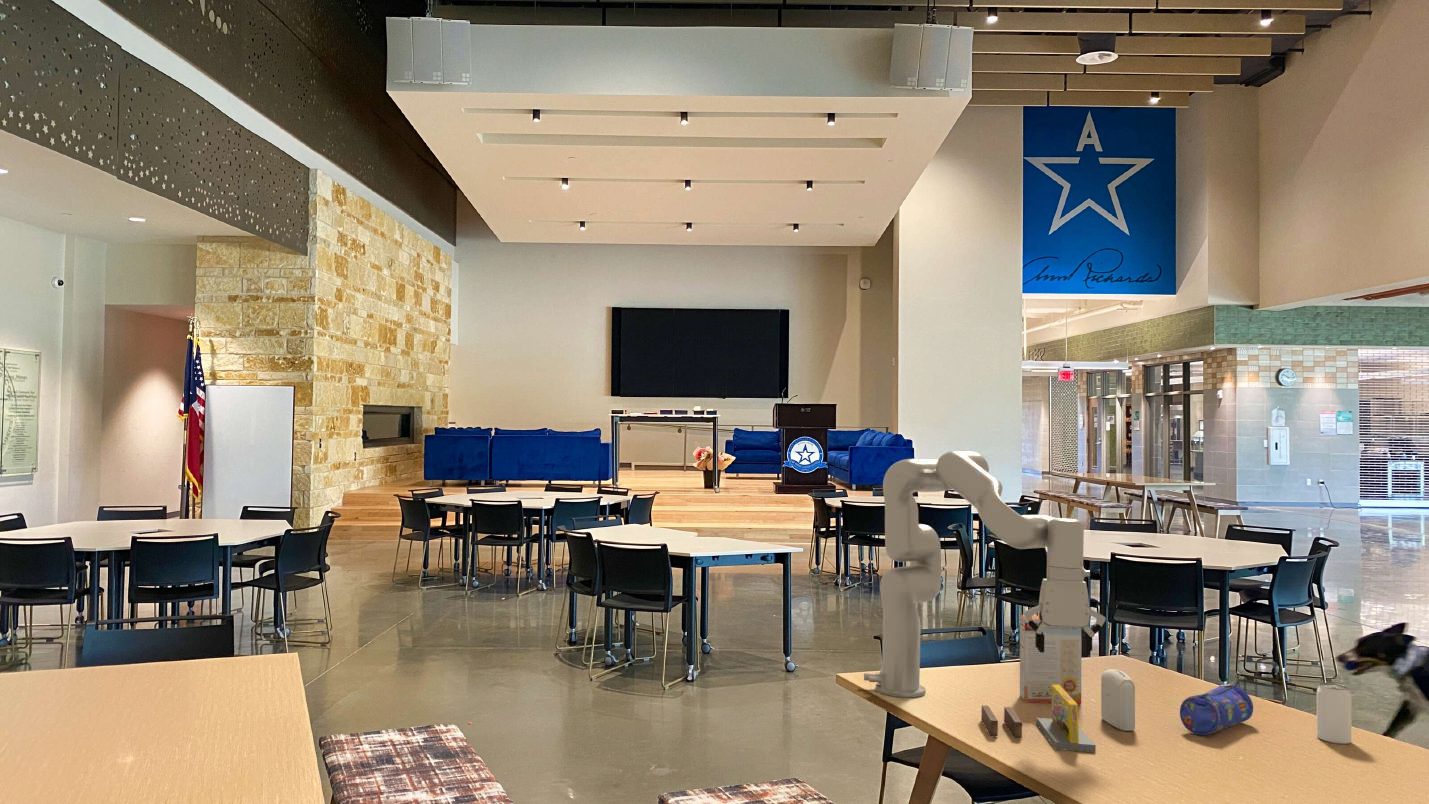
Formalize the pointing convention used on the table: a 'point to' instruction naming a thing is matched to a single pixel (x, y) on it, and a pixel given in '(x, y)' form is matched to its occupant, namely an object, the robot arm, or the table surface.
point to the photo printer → (1118, 700)
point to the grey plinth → (1060, 740)
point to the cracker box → (1049, 662)
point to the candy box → (1065, 713)
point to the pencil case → (1216, 709)
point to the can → (1334, 713)
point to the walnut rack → (1009, 719)
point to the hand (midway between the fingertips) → (1063, 652)
